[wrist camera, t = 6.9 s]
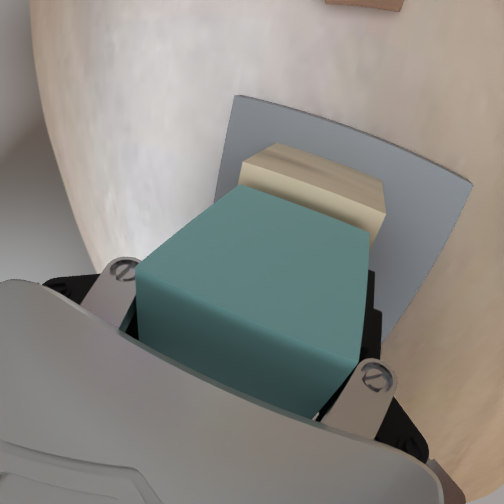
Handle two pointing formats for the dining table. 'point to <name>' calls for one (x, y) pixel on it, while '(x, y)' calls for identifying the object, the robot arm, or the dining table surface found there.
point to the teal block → (259, 298)
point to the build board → (371, 163)
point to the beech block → (317, 186)
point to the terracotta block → (371, 3)
